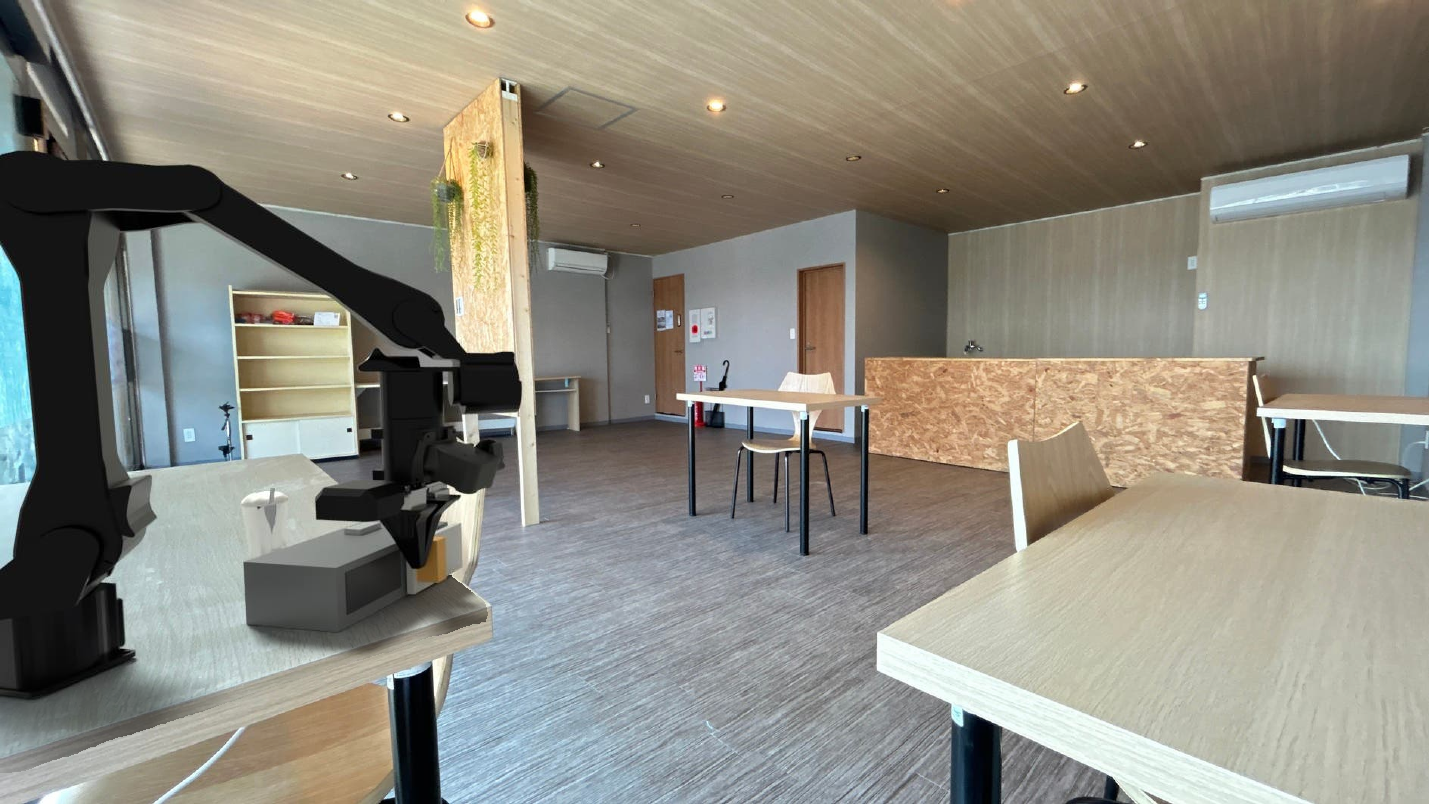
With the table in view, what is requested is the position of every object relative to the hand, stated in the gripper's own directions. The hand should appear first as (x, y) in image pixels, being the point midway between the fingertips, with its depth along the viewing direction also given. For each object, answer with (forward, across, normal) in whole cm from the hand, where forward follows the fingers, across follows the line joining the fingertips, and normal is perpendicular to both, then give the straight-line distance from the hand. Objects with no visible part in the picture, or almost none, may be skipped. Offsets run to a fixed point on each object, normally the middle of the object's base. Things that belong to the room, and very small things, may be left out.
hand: (418, 568), depth 59 cm
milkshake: (+4, +7, +26) cm, 27 cm away
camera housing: (+4, +1, +8) cm, 8 cm away
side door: (+3, +5, +1) cm, 6 cm away
